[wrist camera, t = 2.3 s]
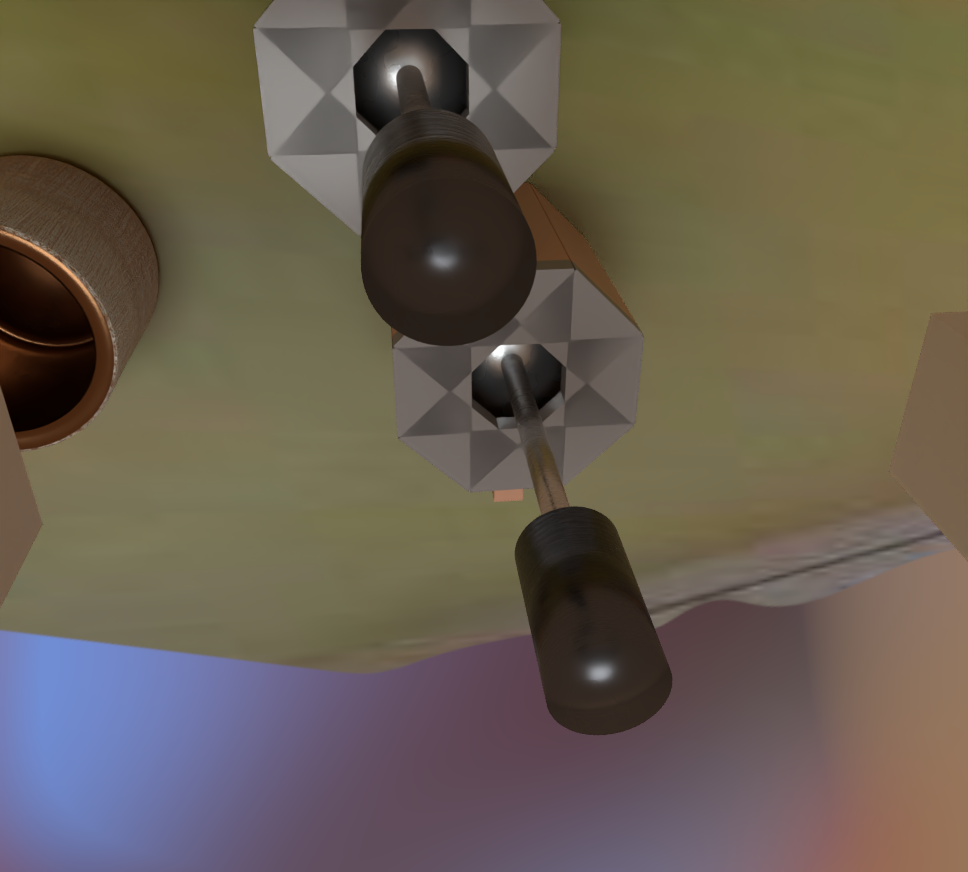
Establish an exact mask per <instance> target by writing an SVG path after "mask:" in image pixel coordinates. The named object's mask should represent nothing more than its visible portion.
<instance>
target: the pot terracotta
mask: <svg viewBox="0 0 968 872" xmlns="http://www.w3.org/2000/svg"><path fill="white" fill-rule="evenodd" d="M514 195H515V197H516V199H517V202H518V204H519V206H520V208H521V210H522V212H523V214H524V217H525V219H526V221H527V223H528V225H529V227H530V230H531V232H532V235H533V238H534V241H535V247H536V255H537V266H536V275H535V279H534V283H533V286H532V289H531V292H530V294H529V296H528V298H527V300H526V302H525V304H524V305H523V307H522V308H521V309H520V311H519V312H518V313H517V314H516V316H515V317H514V318H513V319H512V320H511V321H510V322H509V323H507V324H506V325H505V326H504V327H503V328H501V329H500V330H498V331H497V332H495V333H494V334H492V335H490V336H488V337H486V338H484V339H481V340H479V341H476V342H473V343H469V344H464V345H457V346H437V345H429V344H425V343H422V342H418V341H416V340H413V339H410V338H408V337H406V336H405V335H403V334H401V333H399V332H398V331H396V330H395V329H394V328H392V327H391V332H392V350H393V367H394V384H395V402H396V419H397V436H398V438H399V440H401V441H402V442H403V443H404V444H406V445H407V446H408V447H410V448H411V449H412V450H414V451H415V452H416V453H418V454H419V455H420V456H422V457H423V458H424V459H426V460H427V461H428V462H430V463H431V464H432V465H434V466H435V467H436V468H438V469H439V470H440V471H442V472H443V473H444V474H445V475H447V476H448V477H449V478H451V479H452V480H453V481H455V482H456V483H457V484H459V485H460V486H461V487H463V488H464V489H465V490H467V491H469V490H470V492H482V491H492V493H493V498H494V502H499V501H514V500H523V489H529V488H534V486H533V482H532V479H531V475H530V471H529V468H528V464H527V460H526V457H525V453H524V449H523V446H522V442H521V439H520V435H519V431H518V428H517V424H516V420H515V417H503V418H496V417H494V416H493V415H492V414H491V413H490V412H488V411H487V410H486V409H485V408H483V407H482V406H481V405H480V404H479V403H477V402H476V401H475V400H474V399H473V398H472V379H471V372H473V371H474V370H475V369H476V368H477V367H478V366H479V365H480V364H481V363H482V362H483V361H484V360H485V359H486V358H487V357H488V356H489V355H490V354H491V353H492V352H494V351H495V350H496V349H497V348H498V347H499V346H502V345H523V344H541V345H542V346H543V347H544V348H545V349H546V350H547V351H548V352H550V353H551V354H552V355H553V356H554V357H555V358H556V359H557V360H559V361H560V362H561V363H562V371H561V391H560V392H559V393H558V394H557V395H556V396H555V397H554V398H552V399H551V400H550V401H549V402H548V403H547V404H546V405H545V406H544V407H542V408H541V409H540V410H539V413H540V416H541V419H542V422H543V425H544V428H545V432H546V435H547V438H548V441H549V444H550V447H551V450H552V453H553V456H554V459H555V462H556V466H557V469H558V472H559V475H560V478H561V481H562V484H563V485H564V486H565V485H566V484H567V483H568V482H569V481H571V480H572V479H573V478H574V477H575V476H576V475H577V474H579V473H580V472H581V471H582V470H583V469H584V468H586V467H587V466H588V465H589V464H590V463H591V462H593V461H594V460H595V459H596V458H597V457H598V456H600V455H601V454H602V453H603V452H604V451H605V450H606V449H608V448H609V447H610V446H611V445H612V444H613V443H615V442H616V441H617V440H618V439H619V438H620V437H622V436H623V435H624V434H625V433H626V432H627V431H629V430H630V429H631V428H632V427H633V426H634V424H635V422H636V412H637V402H638V392H639V382H640V372H641V361H642V351H643V341H644V336H643V333H642V332H641V330H640V328H639V327H638V325H637V323H636V322H635V320H634V318H633V317H632V315H631V313H630V312H629V310H628V308H627V307H626V305H625V303H624V302H623V300H622V298H621V297H620V295H619V293H618V292H617V290H616V289H615V287H614V285H613V284H612V282H611V280H610V279H609V277H608V275H607V274H606V272H605V270H604V269H603V267H602V265H601V264H600V262H599V260H598V259H597V257H596V255H595V254H594V252H593V250H592V249H591V247H590V245H589V244H588V242H587V241H586V239H585V237H584V236H583V235H582V234H581V233H580V232H579V231H578V230H577V229H576V228H575V227H574V226H573V225H572V224H571V223H570V222H569V221H568V220H567V219H566V218H565V217H564V216H563V215H562V214H561V213H560V212H559V211H558V210H557V209H556V208H555V207H554V206H553V205H552V204H551V203H550V202H549V201H548V200H547V199H546V198H545V197H544V196H543V195H542V194H541V193H540V192H539V191H538V190H537V189H536V188H535V187H534V186H533V185H532V184H531V183H530V184H529V182H524V183H523V184H522V185H521V186H520V187H519V188H518V189H517V190H516V191H515V192H514Z"/></svg>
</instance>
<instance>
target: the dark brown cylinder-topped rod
mask: <svg viewBox="0 0 968 872" xmlns="http://www.w3.org/2000/svg"><path fill="white" fill-rule="evenodd" d="M353 68H354V83H355V97H356V111H357V112H358V113H359V114H360V115H361V116H362V117H363V118H365V119H366V120H367V121H368V122H369V123H370V124H371V125H372V126H373V127H374V128H375V129H376V130H377V131H378V134H377V135H376V136H375V137H374V139H373V141H372V142H371V144H370V146H369V148H368V150H367V153H366V155H365V159H364V163H363V170H362V229H361V272H362V279H363V283H364V287H365V290H366V293H367V295H368V298H369V300H370V302H371V303H372V305H373V307H374V308H375V310H376V311H377V313H378V314H379V315H380V316H381V317H382V319H383V320H384V321H385V322H387V323H388V324H389V325H390V326H391V327H392V328H394V329H395V330H396V331H398V332H399V333H401V334H403V335H405V336H406V337H408V338H410V339H413V340H416V341H418V342H422V343H425V344H429V345H437V346H457V345H464V344H469V343H473V342H476V341H479V340H481V339H484V338H486V337H488V336H490V335H492V334H494V333H495V332H497V331H498V330H500V329H501V328H503V327H504V326H505V325H506V324H507V323H509V322H510V321H511V320H512V319H513V318H514V317H515V316H516V314H517V313H518V312H519V311H520V309H521V308H522V307H523V305H524V304H525V302H526V300H527V298H528V296H529V294H530V292H531V289H532V286H533V283H534V279H535V275H536V266H537V255H536V247H535V241H534V238H533V235H532V232H531V230H530V227H529V225H528V223H527V221H526V219H525V217H524V214H523V212H522V210H521V208H520V206H519V204H518V202H517V199H516V197H515V195H514V193H513V191H512V189H511V187H510V184H509V182H508V180H507V178H506V176H505V174H504V171H503V169H502V167H501V165H500V163H499V161H498V159H497V156H496V154H495V152H494V150H493V148H492V146H491V144H490V142H489V141H488V139H487V137H486V136H485V135H484V133H483V132H482V131H481V130H480V129H479V128H478V127H477V126H476V125H475V124H473V123H472V122H471V121H469V120H468V119H466V118H465V117H463V116H461V114H462V113H463V112H464V111H465V109H466V108H467V96H466V61H465V60H464V59H463V58H462V57H461V56H460V55H459V54H458V53H457V52H456V51H455V50H454V49H453V48H452V47H451V46H450V45H449V44H448V43H447V42H446V41H445V40H444V38H443V37H442V36H441V35H440V34H439V33H438V32H437V31H436V30H435V29H389V30H384V31H383V33H382V34H381V35H380V36H379V37H378V38H377V39H376V41H375V42H374V43H373V44H372V45H371V46H370V48H369V49H368V50H367V51H366V52H365V53H364V55H363V56H362V57H361V58H360V59H359V60H358V62H357V63H356V64H355V65H354V66H353Z"/></svg>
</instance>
